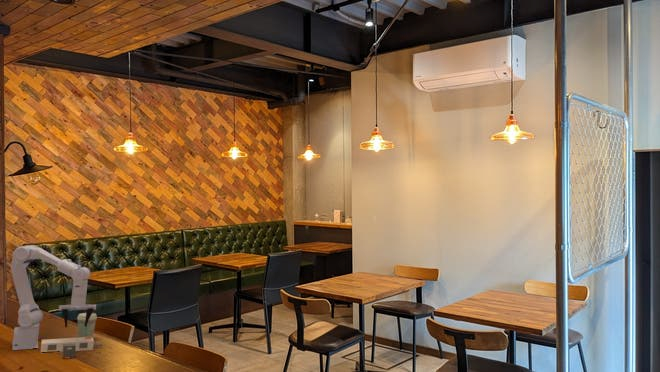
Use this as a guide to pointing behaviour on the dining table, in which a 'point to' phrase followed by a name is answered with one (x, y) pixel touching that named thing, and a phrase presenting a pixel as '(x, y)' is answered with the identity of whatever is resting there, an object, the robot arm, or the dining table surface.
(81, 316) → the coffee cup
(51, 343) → the power strip
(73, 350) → the charger
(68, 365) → the dining table surface
